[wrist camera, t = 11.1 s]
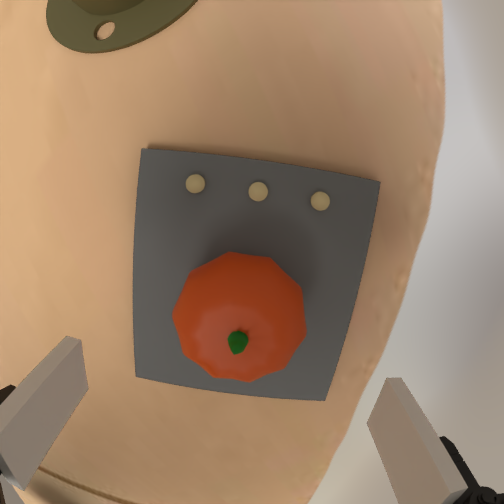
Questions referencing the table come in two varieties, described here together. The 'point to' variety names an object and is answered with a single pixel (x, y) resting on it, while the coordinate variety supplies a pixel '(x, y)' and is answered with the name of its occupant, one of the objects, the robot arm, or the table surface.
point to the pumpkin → (240, 317)
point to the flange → (110, 10)
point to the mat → (251, 243)
